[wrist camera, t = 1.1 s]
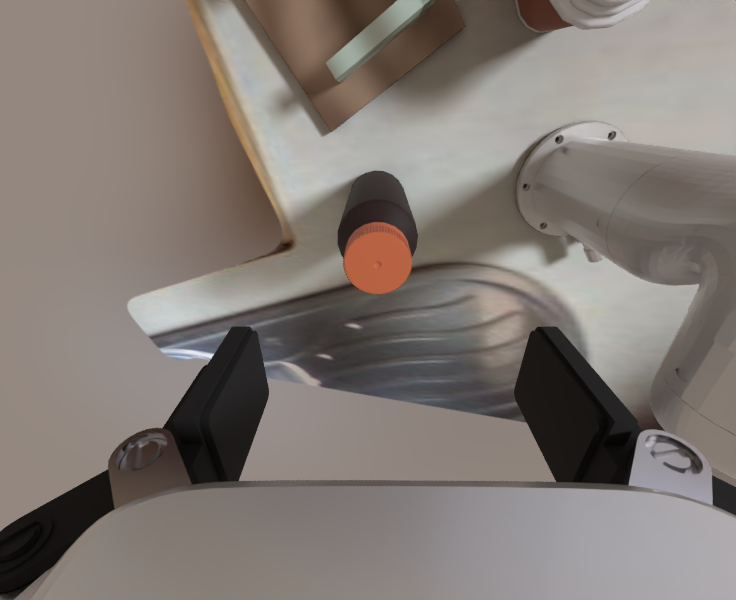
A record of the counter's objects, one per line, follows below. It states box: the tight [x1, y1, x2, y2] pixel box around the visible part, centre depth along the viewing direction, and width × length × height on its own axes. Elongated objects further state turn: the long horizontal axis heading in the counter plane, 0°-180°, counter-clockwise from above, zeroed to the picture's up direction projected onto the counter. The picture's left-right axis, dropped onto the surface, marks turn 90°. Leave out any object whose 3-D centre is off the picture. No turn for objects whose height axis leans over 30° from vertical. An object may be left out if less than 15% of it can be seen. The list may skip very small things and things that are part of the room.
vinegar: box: [338, 171, 418, 295], centre depth 33 cm, size 7×7×20 cm
